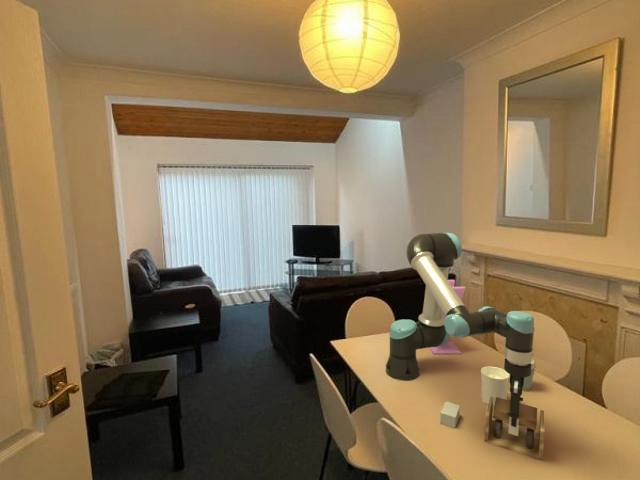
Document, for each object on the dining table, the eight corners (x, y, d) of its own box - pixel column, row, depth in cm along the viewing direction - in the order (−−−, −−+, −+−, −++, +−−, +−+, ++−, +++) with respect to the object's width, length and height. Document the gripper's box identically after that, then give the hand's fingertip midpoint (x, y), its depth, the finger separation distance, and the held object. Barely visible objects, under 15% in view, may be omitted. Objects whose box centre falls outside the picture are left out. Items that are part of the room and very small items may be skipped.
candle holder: (496, 412, 128) (498, 381, 127) (474, 398, 137) (475, 370, 135) (513, 404, 133) (515, 374, 131) (490, 391, 141) (491, 364, 140)
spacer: (455, 428, 120) (455, 417, 119) (440, 423, 123) (440, 412, 122) (459, 415, 127) (460, 405, 126) (445, 411, 129) (445, 401, 129)
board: (536, 416, 113) (537, 407, 113) (536, 430, 106) (537, 421, 106) (495, 405, 119) (496, 396, 119) (493, 417, 113) (493, 409, 112)
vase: (463, 355, 174) (466, 287, 169) (432, 355, 174) (434, 287, 169) (452, 342, 189) (454, 279, 185) (423, 342, 189) (424, 280, 185)
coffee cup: (537, 393, 139) (539, 365, 138) (514, 391, 141) (516, 364, 139) (529, 382, 148) (531, 356, 146) (507, 380, 149) (509, 354, 148)
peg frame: (484, 441, 113) (485, 414, 112) (489, 421, 123) (490, 396, 122) (542, 460, 105) (544, 431, 103) (542, 437, 115) (544, 410, 113)
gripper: (530, 378, 100) (526, 450, 103) (532, 350, 117) (528, 412, 120) (501, 371, 104) (498, 441, 107) (507, 345, 121) (504, 406, 124)
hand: (514, 426), depth 113 cm, fingers closed on board, 8 cm apart
